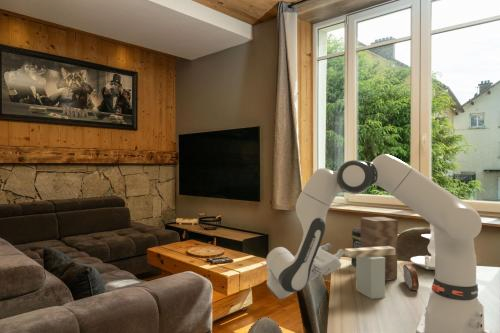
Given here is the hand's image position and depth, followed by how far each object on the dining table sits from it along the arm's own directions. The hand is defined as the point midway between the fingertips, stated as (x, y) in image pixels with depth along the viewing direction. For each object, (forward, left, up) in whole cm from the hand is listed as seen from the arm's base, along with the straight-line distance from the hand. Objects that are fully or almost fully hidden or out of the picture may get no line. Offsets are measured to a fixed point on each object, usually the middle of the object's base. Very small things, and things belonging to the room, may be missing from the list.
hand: (336, 247), depth 132 cm
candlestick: (+65, -14, -19) cm, 69 cm away
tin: (+32, -16, -19) cm, 40 cm away
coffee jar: (+45, +12, -19) cm, 50 cm away
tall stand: (+35, -1, -19) cm, 40 cm away
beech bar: (+13, -7, -4) cm, 15 cm away
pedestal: (+13, -7, -19) cm, 24 cm away
